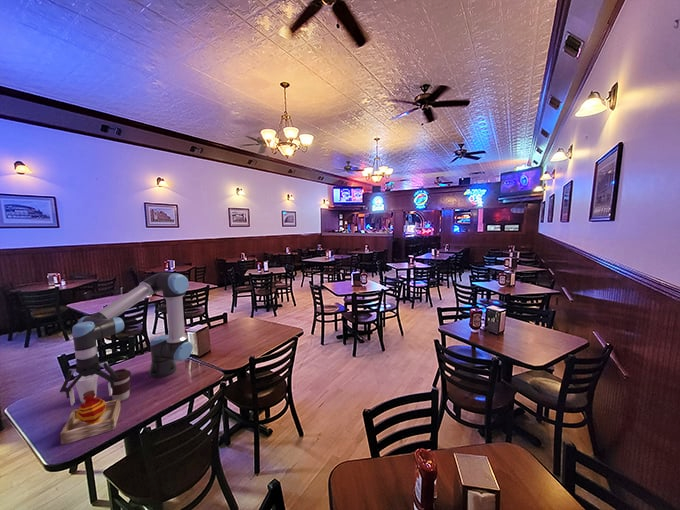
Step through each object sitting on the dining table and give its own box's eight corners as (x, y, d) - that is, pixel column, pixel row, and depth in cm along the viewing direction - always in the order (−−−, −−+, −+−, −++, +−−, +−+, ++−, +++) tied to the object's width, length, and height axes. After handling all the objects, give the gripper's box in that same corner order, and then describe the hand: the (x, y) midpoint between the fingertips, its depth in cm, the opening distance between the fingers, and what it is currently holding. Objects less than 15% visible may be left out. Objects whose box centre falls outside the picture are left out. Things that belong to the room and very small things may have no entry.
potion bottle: (90, 416, 137) (85, 387, 135) (112, 413, 138) (108, 385, 136) (72, 432, 127) (66, 401, 125) (96, 429, 128) (91, 399, 126)
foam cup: (86, 405, 146) (83, 382, 145) (72, 403, 148) (69, 380, 147) (104, 394, 156) (102, 372, 154) (91, 392, 157) (89, 370, 156)
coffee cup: (136, 394, 156) (134, 369, 154) (117, 405, 146) (115, 378, 145) (124, 391, 159) (122, 366, 157) (105, 401, 150) (102, 374, 148)
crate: (120, 407, 145) (119, 398, 144) (114, 429, 129) (113, 419, 129) (73, 420, 136) (72, 409, 135) (61, 445, 120) (60, 433, 120)
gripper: (122, 346, 138) (126, 386, 141) (52, 359, 126) (58, 403, 128) (119, 352, 132) (124, 394, 135) (46, 367, 119) (52, 412, 122)
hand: (92, 398), depth 131 cm, fingers open, 13 cm apart
